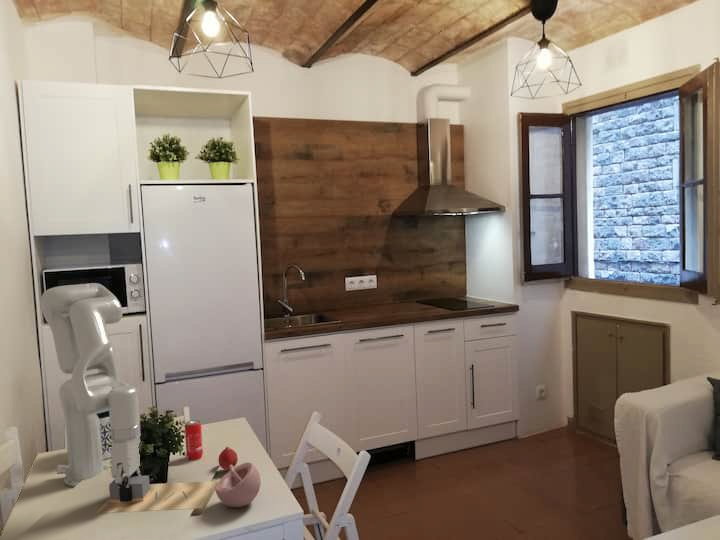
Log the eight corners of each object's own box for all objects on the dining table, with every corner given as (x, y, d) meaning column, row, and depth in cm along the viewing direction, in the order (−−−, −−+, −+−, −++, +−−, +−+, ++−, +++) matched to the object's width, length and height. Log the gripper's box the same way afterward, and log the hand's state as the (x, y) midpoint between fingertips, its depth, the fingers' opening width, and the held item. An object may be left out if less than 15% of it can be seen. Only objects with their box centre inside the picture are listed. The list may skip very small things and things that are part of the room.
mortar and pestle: (214, 499, 153) (211, 459, 152) (257, 490, 157) (255, 451, 156) (219, 520, 141) (216, 476, 141) (265, 509, 145) (263, 467, 145)
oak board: (95, 518, 145) (95, 513, 145) (121, 490, 161) (121, 485, 161) (202, 513, 145) (201, 508, 145) (217, 485, 161) (217, 480, 161)
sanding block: (110, 502, 150) (109, 485, 150) (118, 494, 155) (116, 476, 155) (143, 501, 150) (142, 483, 150) (150, 492, 155) (148, 475, 155)
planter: (64, 460, 186) (60, 418, 185) (99, 442, 201) (96, 404, 200) (102, 464, 181) (99, 421, 180) (135, 446, 196) (132, 406, 195)
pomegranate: (216, 470, 172) (214, 445, 171) (233, 465, 175) (231, 441, 174) (223, 476, 167) (222, 451, 166) (241, 471, 170) (239, 446, 170)
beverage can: (189, 462, 179) (187, 426, 178) (184, 457, 183) (182, 422, 183) (205, 457, 182) (203, 422, 181) (199, 453, 186) (197, 418, 186)
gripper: (125, 422, 160) (129, 482, 161) (97, 444, 143) (103, 512, 144) (151, 420, 160) (155, 481, 161) (126, 443, 143) (131, 510, 144)
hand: (130, 495), depth 153 cm, fingers closed on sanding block, 5 cm apart
